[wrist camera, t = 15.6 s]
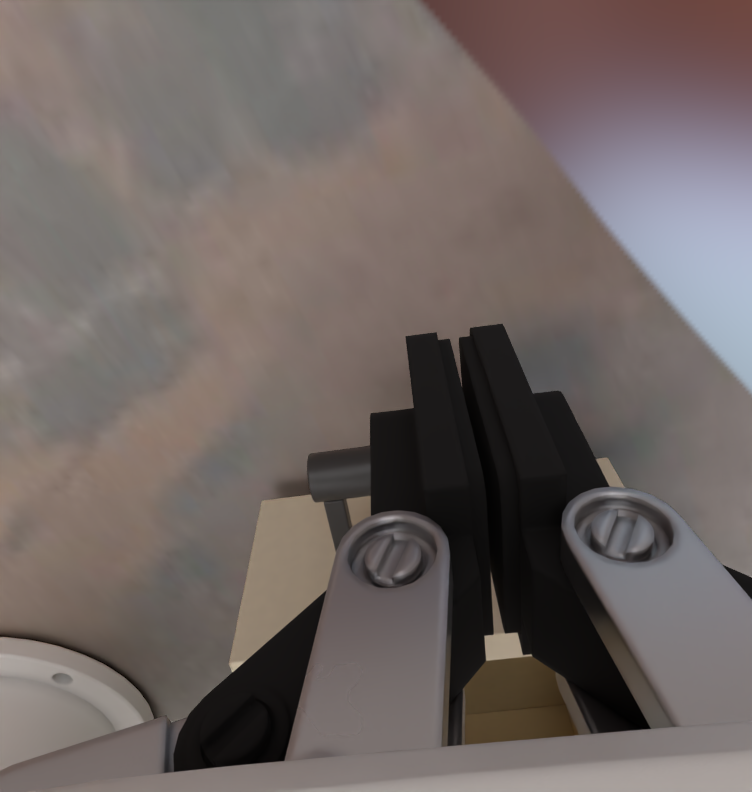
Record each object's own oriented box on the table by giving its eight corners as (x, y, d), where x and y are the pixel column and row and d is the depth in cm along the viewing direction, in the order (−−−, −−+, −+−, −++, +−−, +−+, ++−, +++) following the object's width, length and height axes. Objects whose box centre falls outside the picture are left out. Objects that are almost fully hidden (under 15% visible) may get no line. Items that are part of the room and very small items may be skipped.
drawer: (228, 399, 20) (177, 550, 14) (616, 347, 20) (725, 483, 14) (330, 715, 30) (323, 879, 24) (588, 688, 30) (645, 850, 24)
